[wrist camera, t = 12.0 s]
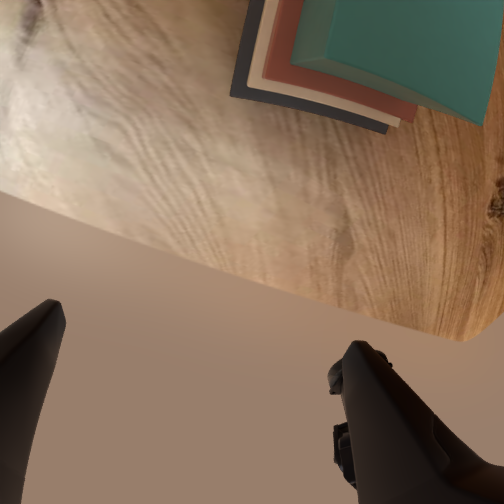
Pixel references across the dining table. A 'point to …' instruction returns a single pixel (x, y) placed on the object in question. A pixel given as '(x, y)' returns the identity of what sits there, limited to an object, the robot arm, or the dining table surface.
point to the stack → (303, 74)
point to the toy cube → (407, 49)
